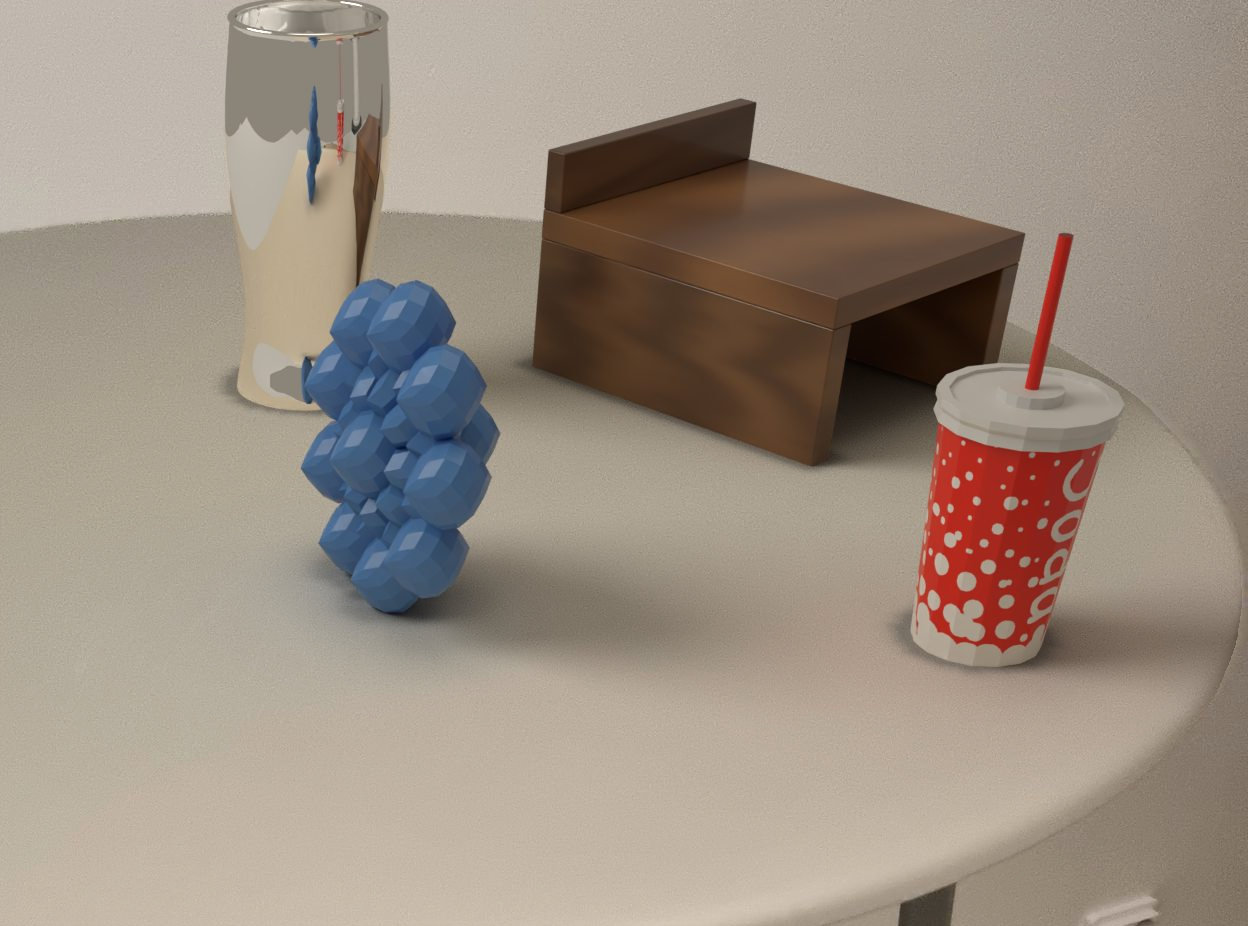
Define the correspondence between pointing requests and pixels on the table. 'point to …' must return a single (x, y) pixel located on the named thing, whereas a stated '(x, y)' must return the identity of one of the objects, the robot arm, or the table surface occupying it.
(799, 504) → the table surface
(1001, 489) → the beverage cup
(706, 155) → the shelf
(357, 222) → the beer glass
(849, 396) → the table surface
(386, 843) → the table surface
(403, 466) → the grapes
